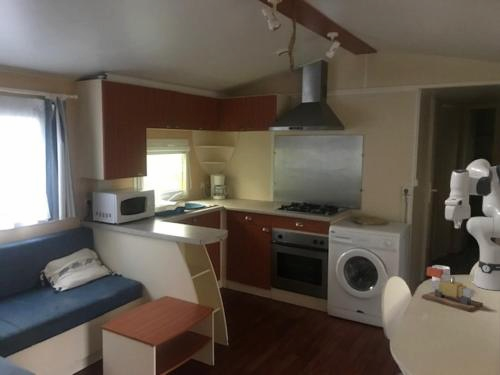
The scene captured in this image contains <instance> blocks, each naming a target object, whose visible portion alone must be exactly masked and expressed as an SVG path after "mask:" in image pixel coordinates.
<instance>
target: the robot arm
mask: <svg viewBox="0 0 500 375" xmlns="http://www.w3.org/2000/svg"><path fill="white" fill-rule="evenodd" d="M449 188H450V193H449V197H447V199H446V200H445V201H444V205H445V208H444V210H445V211H444V218H445V220H446V221H453V223H454V228H455V229H461V228H462V227H461V226H462V223H463V220H467V222H466V230H467V232H468V233H469V234H470V235H471V236H472V237H474V238H475V240H476V241H477V243H478V246H479V260H478V266H477V268H476V269H475V272H474V273H475V274H474V279H473V280H471V284H473V285H475V286H476V287H478V288H481V289H485V290H491V291H500V245H498V244H497V243H495V242H494V241H492V240H491V239H492V238H494V239H495V238H497V239H500V164H498V165H495V166H491V164H490V162H489V161H488V160H487V159H485V158H479V159H476V160H473V161H472V162H470V163H469V164H468V165H467V167H466V168H465V169H463V168H462V169H454V170H453V171H452V172H451V176H450V187H449ZM470 195H471V196H480V197H481V196H482V209H481V210H482V212H483V215H484V216H473V217H471V205H470V204H469V203H470V200H469V199H470Z"/></svg>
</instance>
